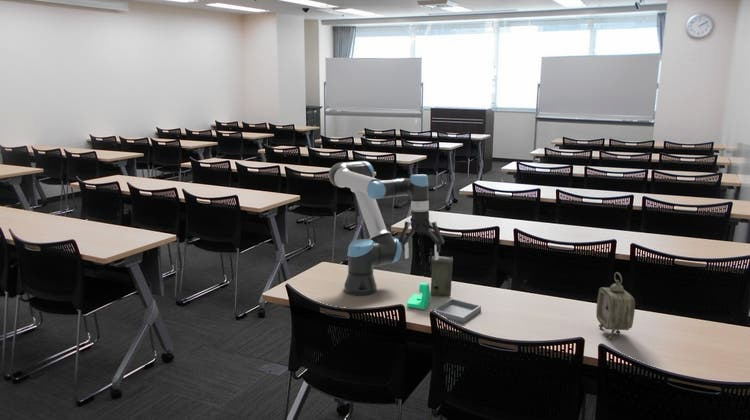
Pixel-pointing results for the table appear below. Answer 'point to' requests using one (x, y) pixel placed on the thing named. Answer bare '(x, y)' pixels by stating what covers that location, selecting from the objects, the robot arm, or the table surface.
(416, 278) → the table surface
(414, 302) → the camera mount
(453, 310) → the tray
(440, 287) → the vintage camera
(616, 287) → the tabletop clock
